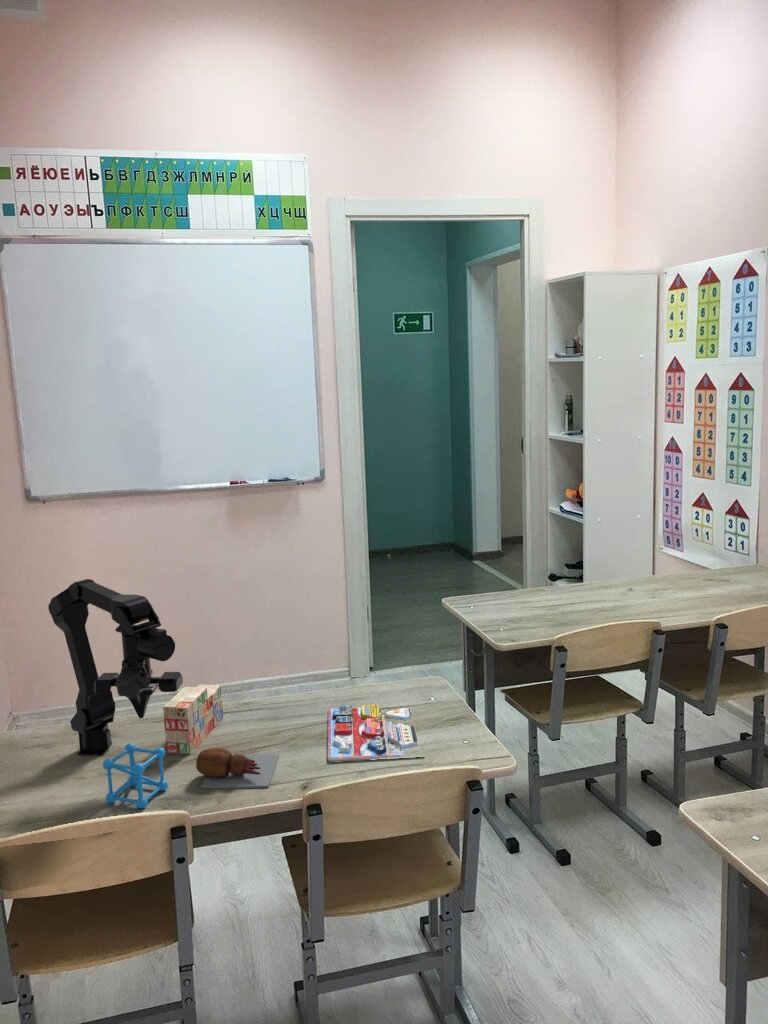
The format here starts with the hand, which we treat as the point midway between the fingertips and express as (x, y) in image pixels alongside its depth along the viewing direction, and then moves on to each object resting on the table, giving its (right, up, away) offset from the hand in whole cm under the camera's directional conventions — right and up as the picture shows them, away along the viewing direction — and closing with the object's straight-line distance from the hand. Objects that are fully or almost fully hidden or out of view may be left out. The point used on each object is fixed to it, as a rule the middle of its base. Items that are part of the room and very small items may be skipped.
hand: (141, 717), depth 191 cm
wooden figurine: (+13, -9, -2) cm, 16 cm away
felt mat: (+23, -13, +1) cm, 26 cm away
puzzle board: (+53, -9, +19) cm, 57 cm away
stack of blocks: (+8, -10, +21) cm, 24 cm away
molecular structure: (+2, -15, -9) cm, 18 cm away
